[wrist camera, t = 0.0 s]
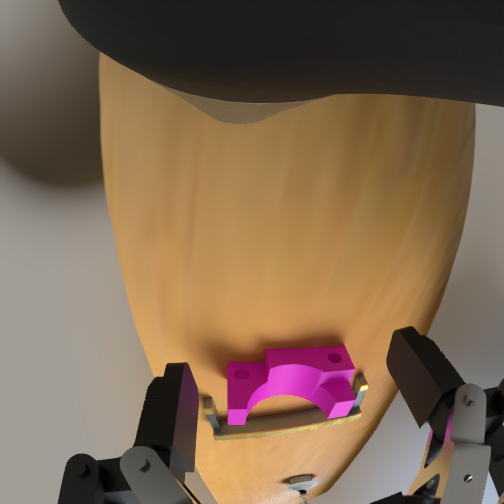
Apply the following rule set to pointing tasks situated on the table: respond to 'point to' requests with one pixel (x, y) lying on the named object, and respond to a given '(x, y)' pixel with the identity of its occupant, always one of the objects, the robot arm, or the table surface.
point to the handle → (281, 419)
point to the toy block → (292, 380)
